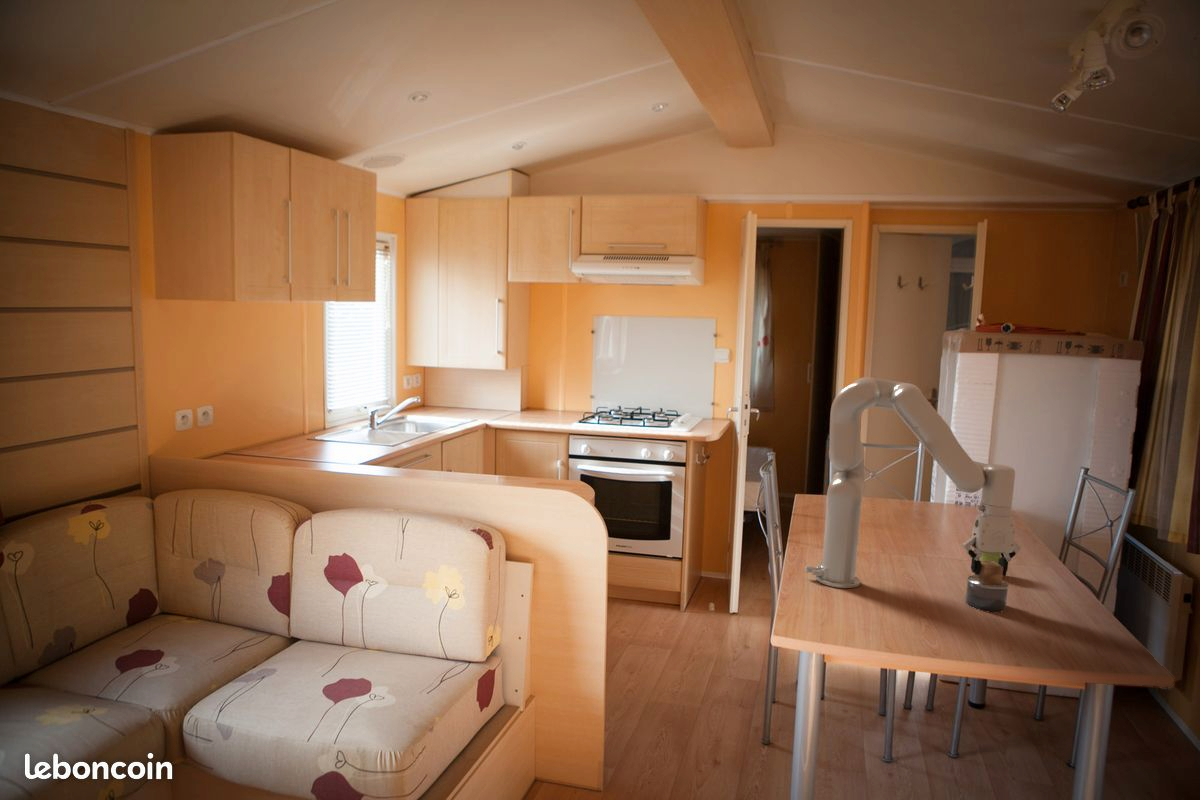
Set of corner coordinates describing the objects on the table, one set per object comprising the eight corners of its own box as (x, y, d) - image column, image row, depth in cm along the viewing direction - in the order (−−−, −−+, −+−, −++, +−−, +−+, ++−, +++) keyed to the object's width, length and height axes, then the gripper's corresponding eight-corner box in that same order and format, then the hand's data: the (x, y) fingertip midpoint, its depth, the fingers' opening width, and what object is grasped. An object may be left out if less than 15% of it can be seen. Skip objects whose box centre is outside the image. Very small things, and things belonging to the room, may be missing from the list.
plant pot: (990, 581, 244) (993, 553, 243) (968, 571, 253) (971, 544, 252) (1016, 580, 246) (1019, 552, 245) (993, 569, 255) (996, 543, 254)
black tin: (976, 612, 218) (979, 587, 217) (958, 598, 228) (960, 574, 227) (1013, 613, 218) (1016, 588, 217) (993, 599, 228) (996, 575, 228)
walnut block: (983, 584, 220) (985, 566, 219) (974, 578, 225) (976, 560, 224) (1001, 584, 220) (1003, 567, 219) (992, 578, 225) (993, 561, 224)
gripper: (971, 512, 216) (964, 577, 218) (1034, 515, 217) (1027, 579, 219) (957, 505, 223) (951, 568, 225) (1018, 507, 224) (1011, 570, 226)
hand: (988, 573), depth 222 cm, fingers open, 6 cm apart
